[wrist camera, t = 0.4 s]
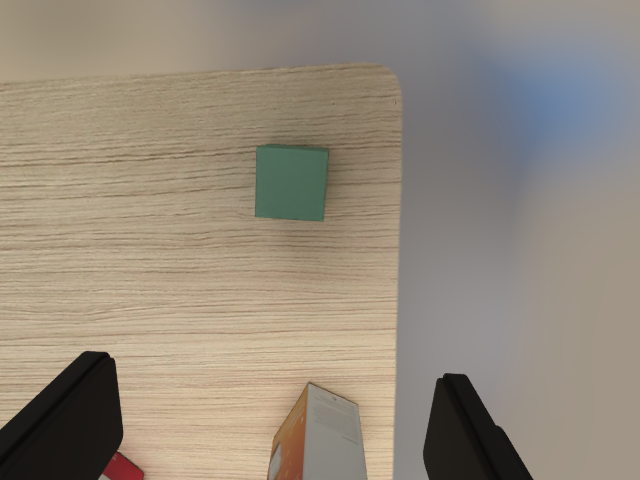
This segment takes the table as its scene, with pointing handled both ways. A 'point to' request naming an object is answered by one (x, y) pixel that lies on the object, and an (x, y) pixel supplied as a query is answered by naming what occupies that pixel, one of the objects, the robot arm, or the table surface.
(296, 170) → the pad block
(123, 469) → the ink box
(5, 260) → the table surface
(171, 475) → the table surface
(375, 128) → the table surface
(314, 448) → the small box
